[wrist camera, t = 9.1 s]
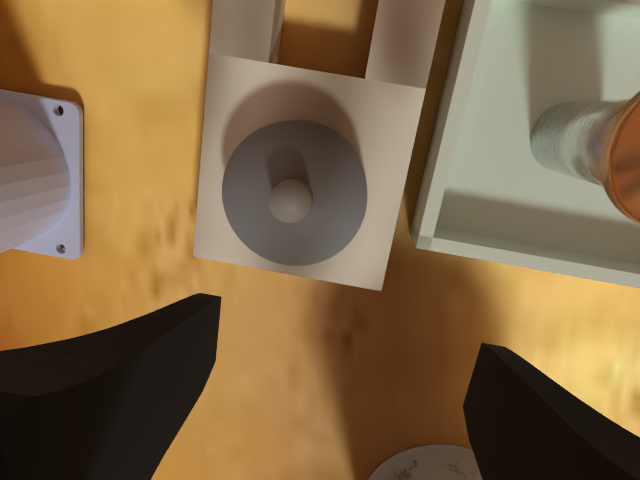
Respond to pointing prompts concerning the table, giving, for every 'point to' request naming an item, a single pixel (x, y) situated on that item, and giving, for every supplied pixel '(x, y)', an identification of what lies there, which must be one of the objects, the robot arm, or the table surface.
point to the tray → (528, 139)
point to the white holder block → (309, 145)
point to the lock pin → (594, 146)
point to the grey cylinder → (430, 464)
